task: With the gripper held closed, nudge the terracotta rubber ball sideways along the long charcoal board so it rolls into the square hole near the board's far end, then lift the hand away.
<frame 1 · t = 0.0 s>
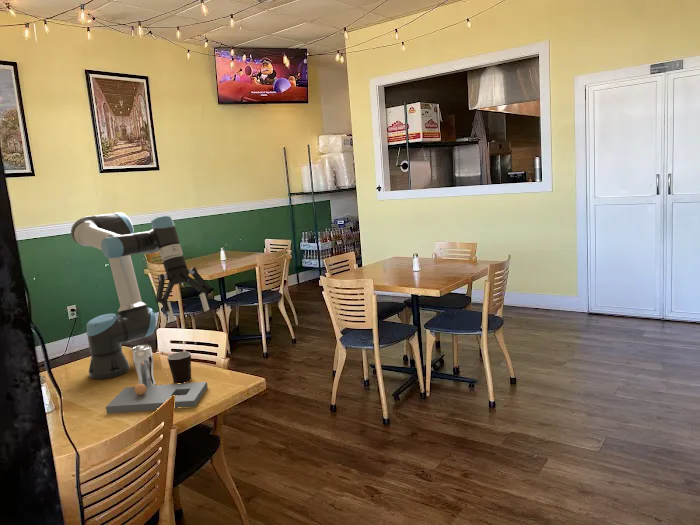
hand: (190, 315, 194), 28 cm above the table, tool tilted 20°, fingers open, 13 cm apart
board: (159, 400, 192), on the table
coffee mug: (184, 379, 210), on the table
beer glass: (147, 385, 207), on the table
ball: (140, 389, 191), point 4 cm above the table, touching board
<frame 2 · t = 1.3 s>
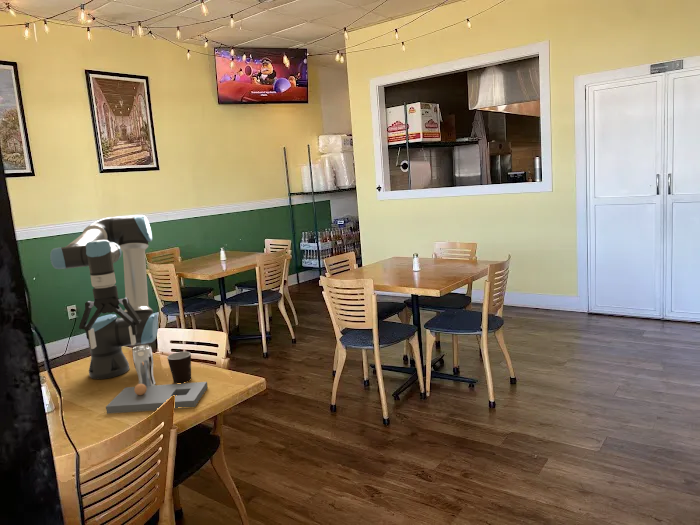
hand: (113, 346, 189), 21 cm above the table, tool pointing down, fingers open, 13 cm apart
nothing on the table moved.
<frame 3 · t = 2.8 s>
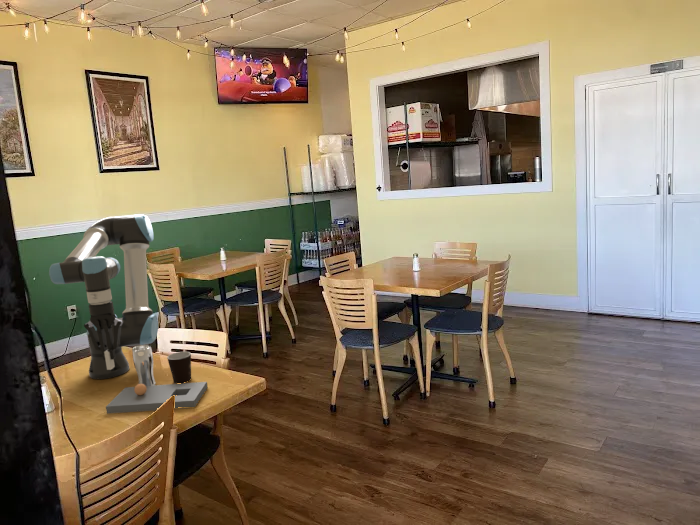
hand: (110, 368, 189), 13 cm above the table, tool pointing down, fingers closed
nothing on the table moved.
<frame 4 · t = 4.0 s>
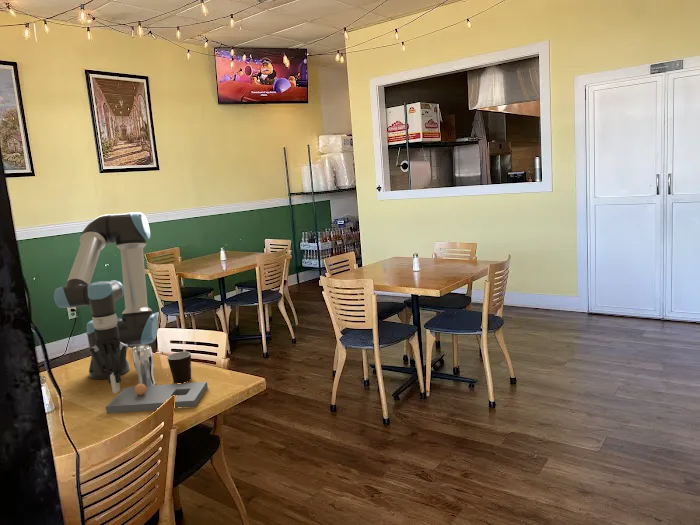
hand: (116, 391, 191), 4 cm above the table, tool pointing down, fingers closed
nothing on the table moved.
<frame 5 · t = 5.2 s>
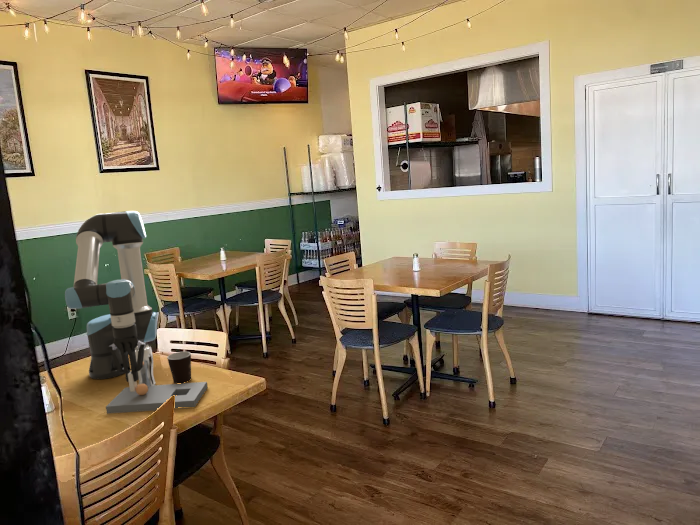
hand: (134, 390, 191), 5 cm above the table, tool pointing down, fingers closed
ball: (142, 389, 191), point 4 cm above the table, tilted 14°, touching board, gripper
everything else where it was.
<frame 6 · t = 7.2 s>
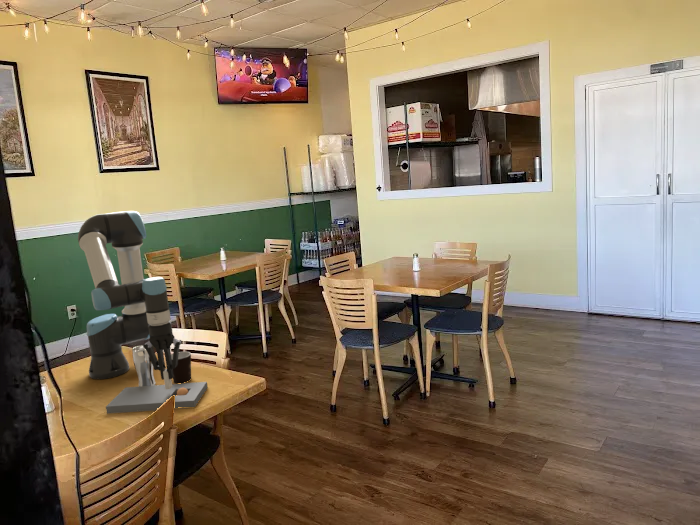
hand: (168, 387, 191), 4 cm above the table, tool pointing down, fingers closed
ball: (182, 393, 191), point 2 cm above the table, tilted 61°
everything else where it was.
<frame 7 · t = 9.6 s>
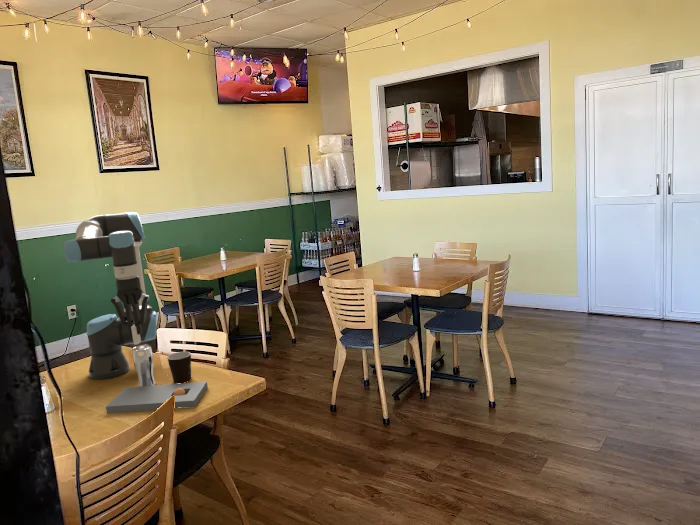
hand: (137, 343, 189), 21 cm above the table, tool pointing down, fingers closed
ball: (179, 393, 191), point 2 cm above the table, tilted 30°
everything else where it was.
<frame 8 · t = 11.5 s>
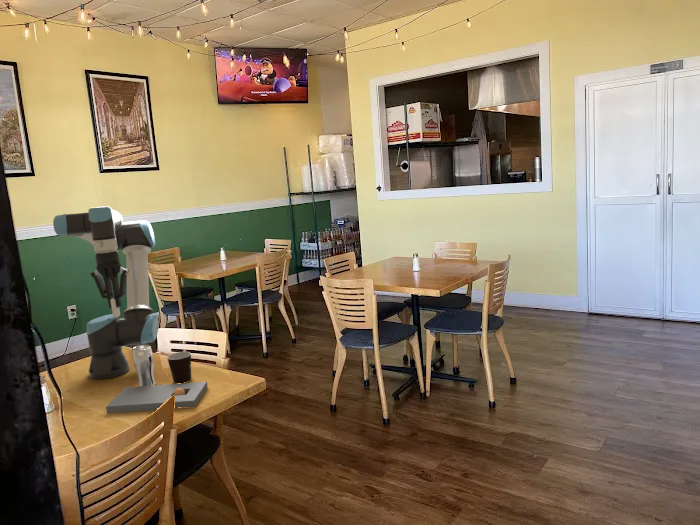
hand: (116, 316, 195), 29 cm above the table, tool pointing down, fingers closed
nothing on the table moved.
at the end: ball 0.6 cm from the target spot on the board, point 2.0 cm above the board's base; ball moved 13.6 cm from its start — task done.
